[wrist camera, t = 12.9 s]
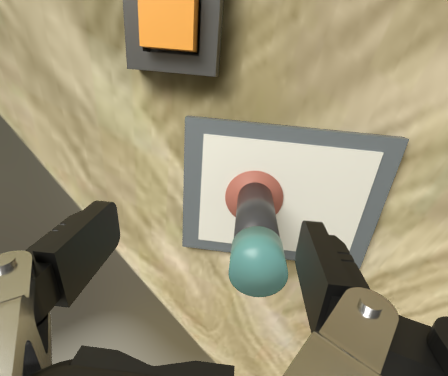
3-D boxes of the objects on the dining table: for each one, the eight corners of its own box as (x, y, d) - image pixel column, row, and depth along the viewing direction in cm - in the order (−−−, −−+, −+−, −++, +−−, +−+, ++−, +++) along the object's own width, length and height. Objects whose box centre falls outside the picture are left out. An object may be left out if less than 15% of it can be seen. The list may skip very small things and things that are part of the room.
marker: (276, 183, 27) (293, 254, 16) (270, 216, 29) (282, 300, 18) (238, 179, 28) (231, 247, 17) (235, 211, 29) (226, 293, 18)
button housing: (225, -26, 22) (222, -39, 19) (218, 76, 25) (215, 76, 23) (133, -33, 22) (119, -46, 20) (138, 69, 25) (127, 68, 23)
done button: (199, -9, 21) (194, -17, 19) (197, 52, 23) (192, 50, 21) (146, -13, 21) (136, -21, 19) (148, 48, 23) (139, 45, 21)
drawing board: (403, 137, 26) (411, 140, 24) (356, 263, 32) (361, 270, 31) (187, 115, 27) (184, 117, 26) (184, 241, 33) (181, 248, 32)
